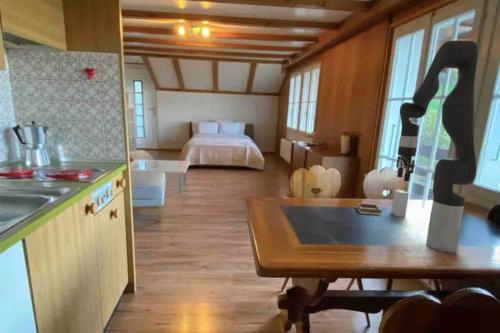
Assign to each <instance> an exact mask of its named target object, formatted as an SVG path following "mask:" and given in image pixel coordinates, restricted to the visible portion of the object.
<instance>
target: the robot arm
mask: <svg viewBox="0 0 500 333" xmlns="http://www.w3.org/2000/svg"><path fill="white" fill-rule="evenodd" d="M478 50H479V48H478V44H477V42H475V41H474V40H447V41H445V42H443V43H442V44H441V46H440V47H439V48H438V49H437V51H436V53H435V56H434V57H433V59H432V62H431V64H430V65H429V68H428V71H427V72H426V74H425V76H424V78H423V81H422V83H421V84H420V86H419V87H418V88H417V90H416V91H415V92H414V94H413V95H412V98H411V99H412V101H411V102H410V101H405V102H404V103H402V104H401V105H400V108H399V115H400V120H401V121H400V122H401V129H400V130H401V131H400V137H399V141H398V149H397V160H396V166H395V167H396V168H397V176H396V177H397V178H403V182H410V181H411V180H410V179H411V174H414V170H415V162H416V161H415V159H412V158H413V157H416V155H417V149H418V142H419V141H418V140H419V137H418V136H419V130H420V124H418V123H415V122H412V121H411V119H420V118H423V117H424V116H425V115H426V114H427V110H428V107H429V105H430V103H431V101H432V99H434V98H435V96H436V95H437V93H438V92H439V89H440V79H439V78H440V74H441V73H442V71H443V70H444V69H457V79H456V83H455V85H454V86H453V88H452V89H451V90H450V92H449V93H448V94H447V96H446V98H445V99H444V101H443V103H442V106H441V124H442V127H443V128H444V131H445V132H446V134H447V135H448V136H449V138H450V139H451V141H452V142H453V145H454V148H455V158H450V157H449V158H442V159H439V160H438V162H436V164H435V167H434V174H433V184H432V194H433V196H432V198H433V199H432V204H431V211H430V216H429V224H428V227H427V228H428V229H427V234H426V235H427V236H426V242H425V244H426V245H427V246H428V247H429V248H431V249H433V250H435V251H437V252H440V253H441V252H442V253H451V254H452V253H453V254H456V253H457V251H458V248H459V247H458V246H459V241H460V240H459V239H460V237H461V236H460V235H461V230H462V228H461V223H462V217H463V211H464V207H465V202H466V199H465V197H464V196H463V195H461V194H458V193H456V192H455V191H454V185H456V186H469V185H471V184H472V183H473V182H474V181H475V179H476V177H477V158H476V152H475V140H474V138H475V137H474V135H475V134H474V132H475V131H474V129H475V128H474V127H475V126H474V125H475V124H474V122H475V81H476V71H477V64H478V58H479V56H478V54H479V52H478Z"/></svg>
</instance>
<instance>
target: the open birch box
mask: <svg viewBox="0 0 500 333" xmlns="http://www.w3.org/2000/svg"><path fill="white" fill-rule="evenodd" d="M356 209H357V211H359V213H360V214H366V215H367V214H368V215H379V216H381V215H382V209H381V208H380V207H379V206H378V204H373V203H362V202H361V203H359V202H358V203H357V202H356Z"/></svg>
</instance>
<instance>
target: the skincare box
mask: <svg viewBox="0 0 500 333" xmlns="http://www.w3.org/2000/svg"><path fill="white" fill-rule="evenodd" d="M393 190H394V191H393V197H392V203H391V213H392V214H393V215H394V216H396V217H399V218H400V217H401V218H403V217H404V218H406V216H407V215H406V213H407V207H408V206H407V205H408V200H409V192H407V191H405V190H403V189H393Z"/></svg>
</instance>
